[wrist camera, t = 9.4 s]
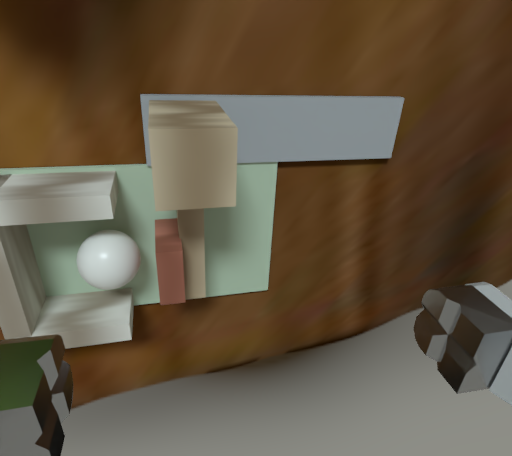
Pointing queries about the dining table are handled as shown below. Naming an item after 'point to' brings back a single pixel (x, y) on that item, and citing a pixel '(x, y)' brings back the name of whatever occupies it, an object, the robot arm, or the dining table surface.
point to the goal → (26, 269)
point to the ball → (108, 259)
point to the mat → (143, 233)
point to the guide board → (302, 125)
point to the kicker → (188, 187)
